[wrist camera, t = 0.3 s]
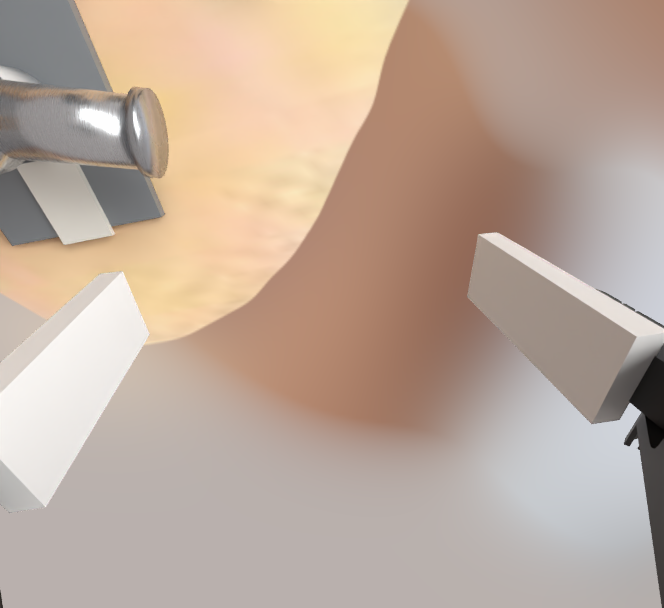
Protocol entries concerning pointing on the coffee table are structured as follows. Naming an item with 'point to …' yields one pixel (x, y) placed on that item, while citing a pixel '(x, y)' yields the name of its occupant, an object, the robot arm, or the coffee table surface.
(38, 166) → the base
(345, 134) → the coffee table surface
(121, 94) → the elbow
